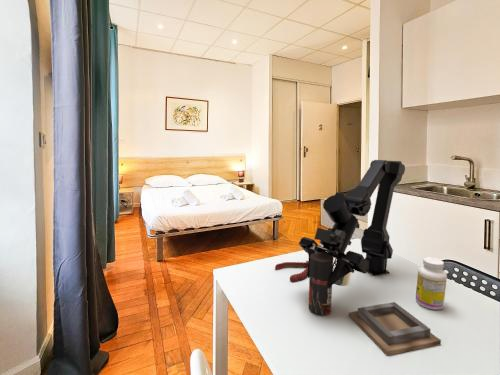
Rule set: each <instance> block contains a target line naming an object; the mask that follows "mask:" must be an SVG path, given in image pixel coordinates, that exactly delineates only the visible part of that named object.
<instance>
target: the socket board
mask: <svg viewBox="0 0 500 375" xmlns="http://www.w3.org/2000/svg"><path fill="white" fill-rule="evenodd" d="M348 317H349V318H350V319H351V320H352V321H353V322H354V323H355V325H357V326H358V327H359V328H360V329H361V330H362V332H364V334H365V335H366V336H368V338H369V339H370V340H371V341H372V342H373V343H374V344H375V346H377V347H378V348H379V349H380V350H381V351H382V352H383V353H384V354H385V355H386V357H387V356H392V355H396V354H397V355H399V354H403V353H406V352H411V351H416V350H420V349H426V348H430V347H435V346H440V345H441V344H442V340H441V339H440V338H438V336H436V335H435V334H433V333H432V332H431V330H432V329H431V327H429V326H427V325H426V324H425V323H423V322H422V321H420V320H419V319H418V318H416V317H415V316H414V315H413V314H411V313H410V312H409V311H407V309H405V308H403V307H402V306H401V305H399V304H398V303H397V302H395V301H393V302H386V303H380V304H375V305H374V304H373V305H367V306H361V307H358V308H357V311H349V312H348Z"/></svg>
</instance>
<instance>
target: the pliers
mask: <svg viewBox="0 0 500 375" xmlns="http://www.w3.org/2000/svg"><path fill="white" fill-rule="evenodd" d="M308 261H309V260H305V262H304V261H303V262H300V261H299V262H298V261H297V262H296V261H286V262H281V263H276V265H275V267H274V270H275V271H279V270H283V269H304V270H303V271H302V272H300V273H294V274H292V275H290V276H289V282H291V283H297V282H300V281H301V282H302V281H303V280H305V279H306V278H308V277H307V270H308Z"/></svg>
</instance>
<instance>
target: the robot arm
mask: <svg viewBox="0 0 500 375" xmlns="http://www.w3.org/2000/svg"><path fill="white" fill-rule="evenodd" d="M405 172H406V166H405V164H404V163H403V162H402V161H401V160H386V159H385V160H384V159H374V160H371V162H370V165H369V167H368V170H366V172H365V174H364V175H363V177H362V178H361V180H360V181H359V183H358V184H357V186H355V188H352V189H350V190H348V191H347V192H346V193H345V195H344V193H343V192H338V191H337V192H335V194H333V195H331V196H329V197H327V198H326V199H324V201H323V204H322V208H323V209H324V211H325V213H326V214H327V216H328V217H329V219H330V221H332V222H333V223H334V224H333V225H332V228H331V227H329V228H328V229H325V228H321V227H317V228H316V231H315V234H314V239H313V238H309V237H307V236H304V237H301V238H300V239H299V242H298V245H299V246H300V247H301V248H302V249H303V251H304V252H305V253H307V255H308V260H307V261H308V270H307V277H306V278H308V279H309V276H310V255H311V254H313V253H326V254H329V255H331V256H332V257H333V259H336V263H335V267H334V268H333V272H332V274H331V276H330V278H329V280H328V283H327V286H328V287H330V286H331V285H332V286H333V285H334V284H335V283H337V282H338V281H339V280H340V279H342V278H344V277H345V276H347V275H348V274H349V273H352V274H354V273H355V271H356V272H359V273H362V274H366V273H367V272H368V273H369V274H371V275H372V276H379V275H380V276H381V275H389V274H390V271H389V270H388V269H387V268H388V266H387V265H388V264H387V263H388V259H389V260H390V259H392V257H393V252H394V250H393V247H392V245H391V244H390V239H391V238H390V234H389V232H388V230H387V225H388V219H389V214H390V209H391V205H392V201H393V194H394V191H395V187H396V186H397V185H399V183H400V182H401V181H402V178H403V175H404V174H405ZM377 187H378V188H377ZM376 189H377V195H376V198H375V204H374V208H373V213H372V219H371V224H370V226H368V227H367V228H364V229H363V233H362V236H361V239H360V246H361V253H363V254H365V257H364V255H363V254H361V253H359V252H356V251H355V252H354V251H352V250H348V251H346V250H347V248H348V246H351V244H352V241H351V239H352V237H353V235H354V232H355V231H356V229H360V226H361V225H360V223H359V219H358V218H357V217H356V216H359V217H365V216H367V214H368V213H369V212H370V210H371V208H372V207H371V206H372V200H371V198H372V196H373V194H374V192H375V191H376ZM315 240H316V241H318V240H319V243H320V245H319V244H318V243H317V242H316V241H315ZM321 245H322V246H321Z"/></svg>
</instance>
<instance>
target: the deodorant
mask: <svg viewBox="0 0 500 375" xmlns="http://www.w3.org/2000/svg"><path fill="white" fill-rule="evenodd" d="M333 270H334V258H333V257H332V256H331V255H329V254H326V253H313V254H311V255H310V276H309V278H308V281H309V282H308V286H309V287H308V310H309V312H310V313H312V314H313V315H316V316H319V317H325V316H326V317H327V316H329V315H330V314H331V312H332V297H333V296H332V294H333V285H331V286H330V287H328V286H327V283H328V280H329V278H330V276H331V274H332V272H333Z"/></svg>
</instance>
